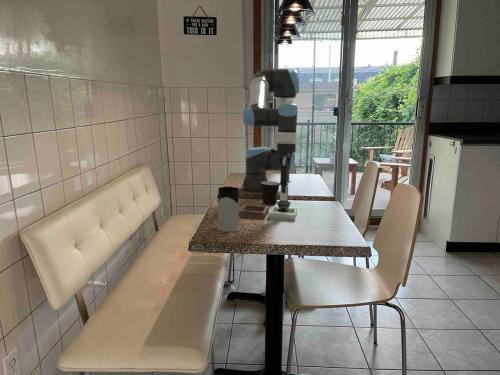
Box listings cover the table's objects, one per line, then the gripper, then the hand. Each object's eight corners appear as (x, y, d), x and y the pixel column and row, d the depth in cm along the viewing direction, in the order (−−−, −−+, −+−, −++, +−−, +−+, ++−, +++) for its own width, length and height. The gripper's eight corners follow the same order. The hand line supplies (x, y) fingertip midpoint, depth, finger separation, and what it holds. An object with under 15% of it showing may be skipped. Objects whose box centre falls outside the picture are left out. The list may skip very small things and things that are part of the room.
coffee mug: (272, 206, 174) (272, 185, 172) (257, 203, 179) (257, 182, 177) (285, 202, 183) (286, 182, 181) (270, 199, 188) (271, 179, 186)
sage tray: (272, 212, 165) (272, 206, 164) (296, 214, 163) (297, 208, 162) (268, 218, 155) (269, 212, 154) (294, 220, 153) (295, 215, 152)
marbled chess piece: (273, 210, 158) (274, 182, 156) (282, 208, 162) (283, 180, 160) (284, 213, 154) (285, 184, 152) (293, 211, 158) (294, 183, 156)
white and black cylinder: (214, 230, 138) (214, 190, 135) (222, 219, 152) (222, 183, 149) (237, 232, 137) (238, 191, 134) (243, 221, 151) (244, 184, 148)
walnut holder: (244, 209, 167) (244, 204, 167) (268, 211, 165) (268, 206, 165) (238, 216, 157) (238, 210, 156) (264, 218, 155) (264, 212, 154)
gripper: (279, 140, 161) (277, 194, 166) (274, 144, 145) (272, 203, 150) (297, 141, 160) (294, 195, 164) (294, 144, 144) (291, 204, 149)
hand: (283, 199), depth 157 cm, fingers closed on marbled chess piece, 4 cm apart
